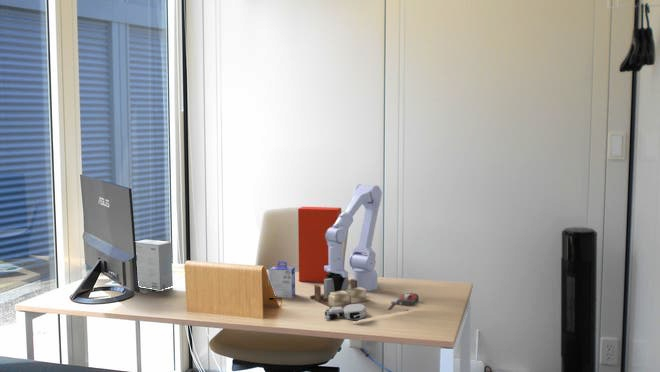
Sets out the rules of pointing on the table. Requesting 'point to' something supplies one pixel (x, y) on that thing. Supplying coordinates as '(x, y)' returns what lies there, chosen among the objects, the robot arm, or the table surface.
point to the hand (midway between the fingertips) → (336, 291)
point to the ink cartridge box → (282, 280)
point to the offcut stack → (347, 296)
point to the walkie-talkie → (405, 300)
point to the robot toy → (346, 312)
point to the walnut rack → (325, 300)
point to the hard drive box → (154, 264)
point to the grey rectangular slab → (330, 286)
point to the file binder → (314, 241)
